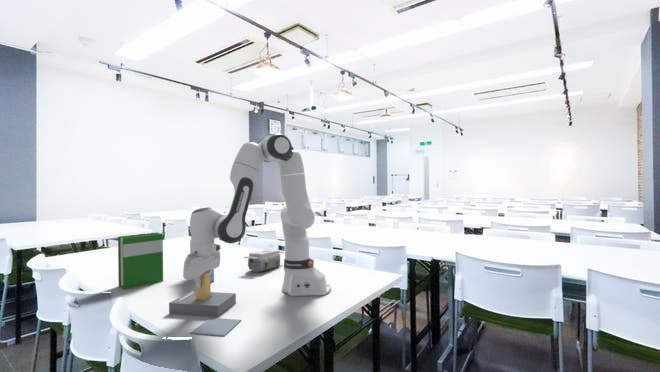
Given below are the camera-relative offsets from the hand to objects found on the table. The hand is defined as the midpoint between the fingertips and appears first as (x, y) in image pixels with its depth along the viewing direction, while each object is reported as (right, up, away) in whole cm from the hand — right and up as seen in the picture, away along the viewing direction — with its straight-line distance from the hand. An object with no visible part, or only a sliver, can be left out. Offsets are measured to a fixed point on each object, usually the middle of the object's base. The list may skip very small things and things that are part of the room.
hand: (202, 284), depth 128 cm
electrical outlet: (+12, -9, +61) cm, 63 cm away
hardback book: (-43, -10, +33) cm, 55 cm away
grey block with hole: (0, -9, 0) cm, 9 cm away
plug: (0, -7, 0) cm, 7 cm away
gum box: (-15, -10, +42) cm, 46 cm away
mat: (+11, -9, -17) cm, 23 cm away
